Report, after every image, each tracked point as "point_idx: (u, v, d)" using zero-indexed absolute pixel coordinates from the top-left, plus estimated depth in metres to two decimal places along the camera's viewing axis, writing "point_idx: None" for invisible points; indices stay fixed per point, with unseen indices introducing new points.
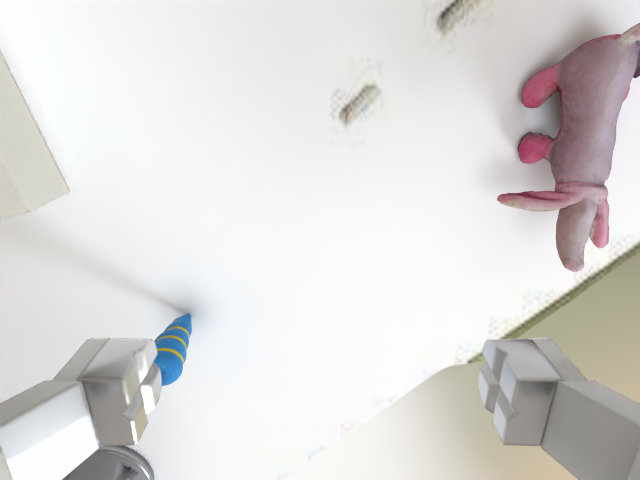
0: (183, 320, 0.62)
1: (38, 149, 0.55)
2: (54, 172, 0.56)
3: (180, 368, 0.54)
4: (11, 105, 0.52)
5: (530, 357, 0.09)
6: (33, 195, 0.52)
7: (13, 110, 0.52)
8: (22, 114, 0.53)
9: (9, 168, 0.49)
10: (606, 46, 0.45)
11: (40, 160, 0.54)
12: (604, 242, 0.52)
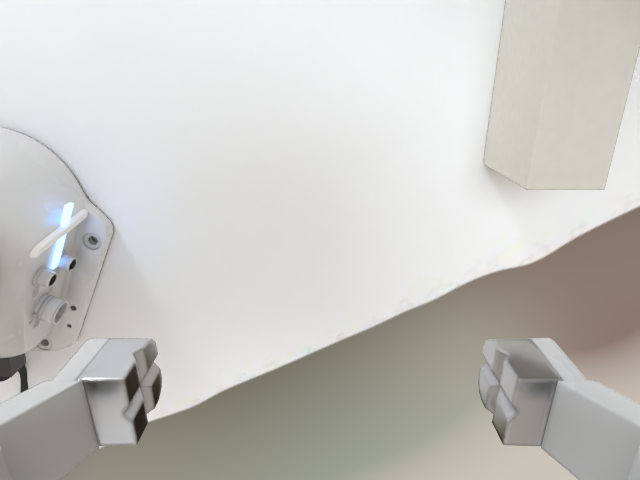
0: None
1: None
2: None
3: None
4: None
5: (530, 357, 0.09)
6: None
7: None
8: None
9: None
10: None
11: None
12: None
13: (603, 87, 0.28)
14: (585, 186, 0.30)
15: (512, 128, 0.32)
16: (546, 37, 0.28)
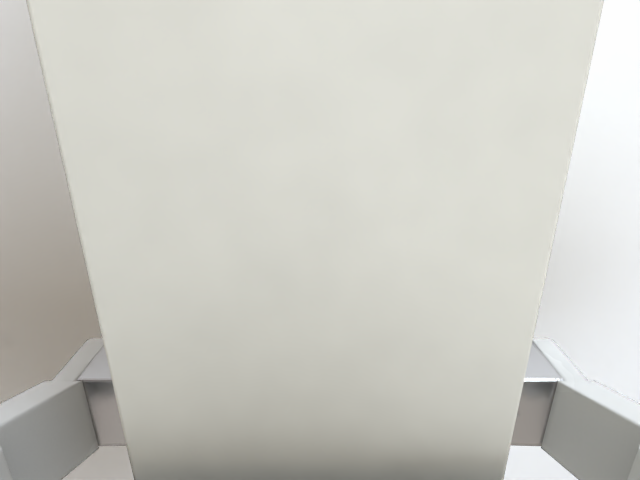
0: None
1: None
2: None
3: None
4: None
5: (530, 357, 0.09)
6: None
7: None
8: None
9: None
10: None
11: None
12: None
13: (391, 423, 0.06)
14: None
15: None
16: None
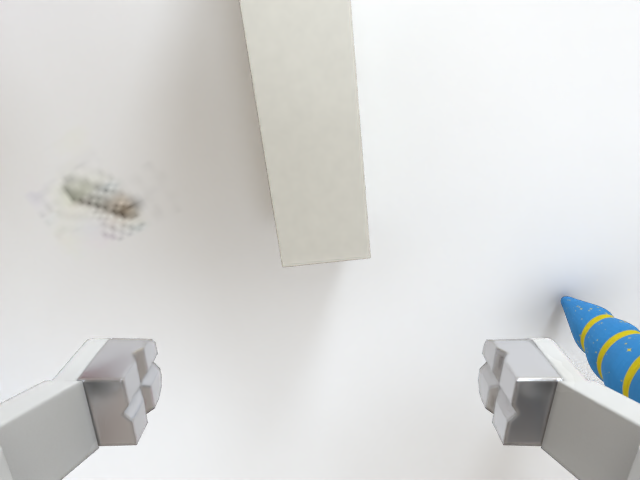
0: (570, 324, 0.34)
1: None
2: None
3: None
4: None
5: (530, 357, 0.09)
6: None
7: None
8: None
9: None
10: None
11: None
12: None
13: (331, 152, 0.24)
14: (348, 257, 0.27)
15: None
16: None
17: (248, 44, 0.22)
